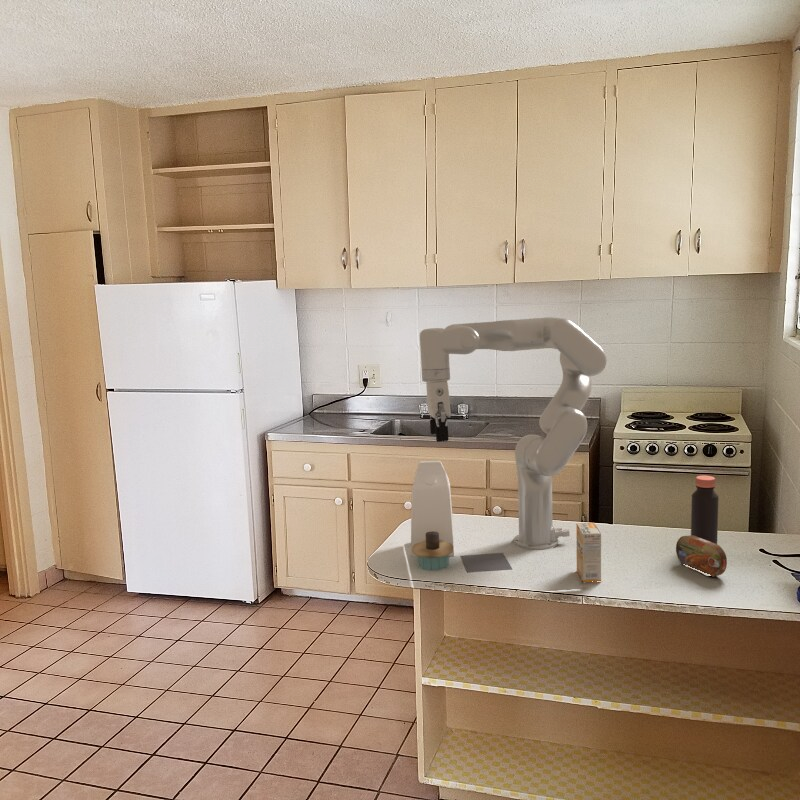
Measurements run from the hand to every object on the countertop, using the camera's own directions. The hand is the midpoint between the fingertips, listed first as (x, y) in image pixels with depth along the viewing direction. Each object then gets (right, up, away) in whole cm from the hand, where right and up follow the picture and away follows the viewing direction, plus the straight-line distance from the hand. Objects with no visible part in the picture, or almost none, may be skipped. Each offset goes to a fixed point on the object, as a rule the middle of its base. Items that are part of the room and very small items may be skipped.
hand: (439, 437), depth 205 cm
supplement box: (+37, -35, -12) cm, 53 cm away
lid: (-2, -30, -2) cm, 30 cm away
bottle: (+73, -31, +4) cm, 79 cm away
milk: (-1, -33, +10) cm, 35 cm away
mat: (+12, -34, -1) cm, 36 cm away
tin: (+66, -34, -12) cm, 75 cm away
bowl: (-2, -35, -1) cm, 35 cm away
